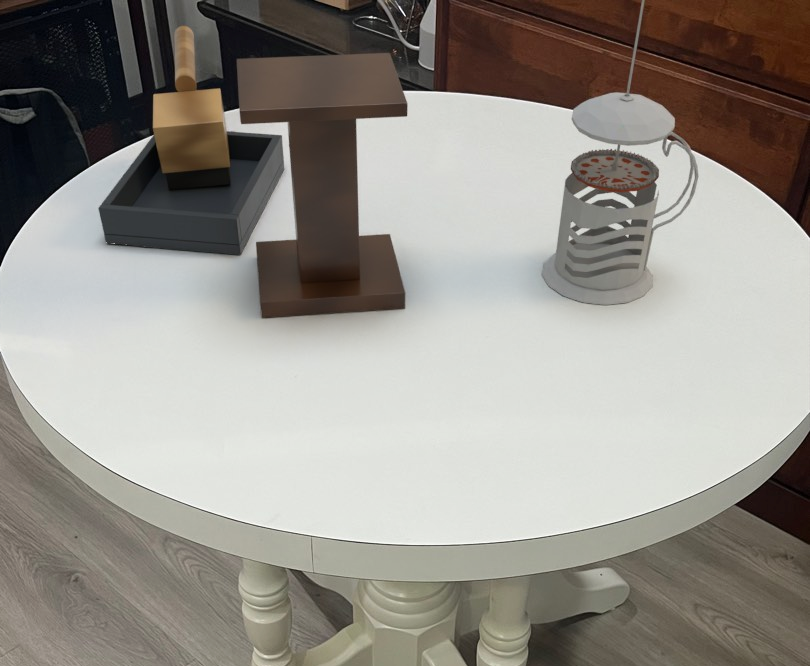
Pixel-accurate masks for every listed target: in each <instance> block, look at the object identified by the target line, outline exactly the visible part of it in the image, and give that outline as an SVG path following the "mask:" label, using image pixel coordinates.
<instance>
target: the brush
mask: <svg viewBox="0 0 810 666" xmlns="http://www.w3.org/2000/svg"><path fill="white" fill-rule="evenodd" d="M173 35H174V36H173V40H174V87H175V90H176V91H174V92H164V93H154V94H153V96H152V131H153V135H154V136H155V140H156V145H157V150H158V155H159V159H160V164H161V169H162V173H165V175H166V180H167V184H168V189H169V190H178V189H188V188H198V187H209V186H219V185H229V184H231V178H230V159H229V147H228V136H227V131H228V129H227V128H228V127H227V123H226V116H225V110H224V109H225V108H224V103H223V98H222V97H223V96H222V91H221V88H220V87H219V88H209V89H208V88H207V89H197V87H198V85H197V67H196V49H195V47H196V46H195V33H194V31H193V30H192V28H190V27H189V26H187V25H179V26H178V27H176V28H175V30H174V33H173Z"/></svg>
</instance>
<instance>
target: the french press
mask: <svg viewBox="0 0 810 666" xmlns="http://www.w3.org/2000/svg"><path fill="white" fill-rule="evenodd" d="M640 4H641V5H640V11H639V16H638V21H637V22H638V23H637V27H636V35H635V41H634V46H633V51H632V57H631V65H630V69H629V75H628V80H627V81H628V82H627V87H626V88H627V89H626V92H618V91H617V92H609V93H606V94H603V95H599V96H596V97H592V98H588V99H587V100H585V101H583V102H581V103H580V104H578V105H577V106H575V107H574V108H573V109H572V114H571V121H572V124H573V126H574V127H575V128H576V129H577V131H578V132H579V133H580V134H582V135H584V136H586V137H587V138H589V139H592V140H595V141H598V142H602V143H605V144H610V145H617V146H616V147H617V148H615V149H614V150H613V148H610V149H609V148H607V149H603V148H602V149H601V148H600V149H594V150H593V149H592V150H589V151H588V152H582V154H579V155H578V156H576V157H575V158H574V159H573V160H571V163H570V171H571V173H570V174H569V175H568V176H567V177H566V179H564V187H563V194H562V195H563V196H562V202H561V203H562V204H561V211H560V218H559V225H558V235H557V242H556V249H555V253H553V254H552V255H551V256H550V257H549V258H548V259H547V260H545V261H544V262H543V264H542V269H541V276H542V278H543V279H544V281H545V283H546V285H547V286H548V287H549V288H551V289H552V290H554V291H555V292H557V293H558V294H559V295H560V296H563V297H565V298H568V299H571V300H574V301H577V302H580V303H584V304H593V305H601V306H602V305H603V306H608V305H618V304H628V303H630V302H633V301H635V300H637V299H640V298H642V297H643V298H644V296H645V295H646V294H647V293H648V292H649V291H650V290H651V288H653V276H654V275H653V273H652V272H651V270H650V269H649V268H648V267H647V265H648V260H649V255H650V251H651V246H652V241H653V237H654V232H655V231H656V230H658V229H659V228H661V227H663V226H665V225H667V224H671V223H672V222H674V221H675V220H676V219H677V218H679V217H680V216H681V215H682V214H683V213H684V211H685V210H686V209H687V208H688V206H689V205H690V204H691V202H692V199H693V198H694V195H695V194H696V190H697V184H698V180H699V168H698V163H697V159H696V157H695V155H694V154H693V153H692V149H691V146H690V144H688V142H686V140H685V139H684V138H683V137H681V136H680V135H678V134H676V133H675V132H673V131H674V129H675V126H676V118H675V117H674V116H673V114H672V113H671V112H670V111H669V110H667V108H665V107H664V106H663V105H662V104H660V103H658V102H656V101H654V100H652V99H650V98H648V97H646V96H644V95H642V94H638V93H637V94H636V93H630V90H631V85H632V78H633V73H634V66H635V60H636V54H637V49H638V44H639V43H638V42H639V37H640V31H641V25H642V20H643V19H642V18H643V12H644V7H645V0H641V3H640ZM669 136H672V137H674V138H675V139H677V140H671V141H670V142H669V144H667V142H668V137H669ZM678 140H679V141H678ZM660 141H662V146H661V149H662V152H663V154H664V156H665V157H669V155H670V151H671V149H672V146H673V145H676V146H678V147H679V148H681V149H683V150H684V151H685V152H686V154H687V155H688V156H689V157H688V158H689V165H690V169H689V174H688V179H687V183H686V185H685V187H684V189H683V191H682V193H681V194H680V196H679V197H678V199H677V200H676V202H675V203H673V204H672V205H671V206H669V207H667V209H664V210H661V211H660V212H657V213H656V209H657V206H658V200H659V197H660V196H659V194H660V193H659V192H660V191H659V189H658V190H657V187H658V185H657V183H656V181H657V180H658V179H659V178H660V168H659V167H658V166H657V164H655V162H653V161H652V160H651V159H649V158H648V157H645V156H643V155H640V153H637V154H636V153H635V152H633V153H632V151H630V152H629V151H628V150H626V151H625V150H624V149H623V150H621V146H626V147H627V146H628V147H629V146H630V147H632V146H644V145H645V146H646V145H651V144H654V143H657V142H660ZM693 174H694V180H693V182H692V177H693ZM691 182H692V187H691ZM589 187H590V188H592V190H590V191H589V192H587V193H586V194H584V195H582V196H581V197H579V198H578V197H576V196H575V195H576V194H578V193H580V192H581V191H583V190H585V189H587V188H589ZM690 187H691V190H690V193H689V197H688V198H687V200H686V202H685V204H684V205H683V207H682V208H681V210H680V211H679V212H678V213H676V214H675V215H674V216H672V217H671V218H669V219H666V220H664V221H661V222H660V223H658V224H655V225H653V224H654V220H655V219H657V218H659V217H661V216H663V215H666V214H668V213H670V211H672V210H674V209H675V208H676V207H677V206H678V205H679V204H680V202H681V201H682V200H683V198H684V197H685V195H686V194H687V192H688V190H689V188H690ZM656 191H657V195H656ZM632 192H636V194H633V193H632ZM611 193H612V194H613V193H614V194H616V195H619V196H621V197H624V198H626V199H627V200H628V201H629V202H630V203H631V204H632V205H633V207H629V206H628V205H627V204H626V203H623V202H621V201H618V200H616V199H614V198H606V199H597V200H596V201H594V202H592V203H589V202H587V201H589V200H591V199H592V198H594V197H596V196H598V195H604V194H611ZM628 221H630V222H628ZM572 223H573V224H574V225H573V226H571V225H572ZM614 224H618V225H620V226H622V228H618V229H617V228H614V227H612V226H611V225H614ZM581 229H587V230H586V231H584V232H581V233H580V234H577V232H579V231H580V230H581ZM570 238H571V239H570ZM569 239H570V240H569Z"/></svg>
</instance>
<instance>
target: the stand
mask: <svg viewBox="0 0 810 666" xmlns="http://www.w3.org/2000/svg"><path fill="white" fill-rule="evenodd" d="M236 71H237V72H236V73H237V87H238V88H237V89H238V90H237V91H238V106H239V107H238V108H239V109H238V110H239V118H240V124H241V125H255V124H256V125H257V124H275V123H279V124H280V123H287V135H288V147H289V148H288V149H289V161H290V174H291V175H290V177H291V190H292V203H293V216H294V229H295V231H294V232H295V239H284V240H283V239H282V240H281V239H280V240H265V241H256V242H255V248H256V264H257V278H258V279H257V280H258V291H259V306H260V316H261V318H262V319H265V318H266V319H267V318H279V317H280V318H281V317H295V316H297V317H298V316H311V315H326V314H341V313H355V312H369V311H371V312H372V311H386V310H399V309H400V310H401V309H406V290H405V287H404V282H403V278H402V275H401V271H400V267H399V263H398V260H397V256H396V251H395V248H394V245H393V244H394V243H393V241H392V237H391V233H383V234H368V235H367V234H365V235H360V219H359V215H360V214H359V180H358V179H359V178H358V177H359V176H358V175H359V174H358V173H359V171H358V137H357V120H361V119H362V120H363V119H383V118H406V117H408V108H409V107H408V101H407V97H406V95H405V92H404V90H403V86H402V84H401V81H400V78H399V76H398V75H399V74H398V72H397V69H396V67H395V63H394V61H393V58H392V55H391V53H390V52H376V53H373V52H372V53H351V54H350V53H349V54H327V55H326V54H324V55H306V56H305V55H301V56H300V55H299V56H298V55H297V56H276V57H275V56H273V57H253V58H251V57H250V58H236Z"/></svg>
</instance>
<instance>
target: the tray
mask: <svg viewBox="0 0 810 666" xmlns="http://www.w3.org/2000/svg"><path fill="white" fill-rule="evenodd" d="M227 136H228V147H229V159H230V178H231V184H229V185H219V186H209V187H198V188H188V189H178V190H169V189H168V184H167V180H166V175H165V173H162V169H161V164H160V159H159V155H158V150H157V145H156V140H155V136H154V134H153V136H151V138H150V139H149V140H148V142H146V145H145V146H144V147H143V148H142V150H141V151H140V152H139V153H138V155H137V156H136V157H135V158H134V160H133V161H132V163H131V164H130V165H129V167H128V169H127V170H126V171H125V172H124V174H123V175H122V176H121V178H120V179H119V180H118V182H116V184H115V186H113V188H112V189H111V191H110V192H109V193H108V195H107V196H106V197H105V199H104V200H103V201H102V203H101V204H100V205H99V206H98V209H97V210H98V213H99V217H100V222H101V227H102V232H103V235H104V240H105V243H106V242H107V243H115V244H124V245H123V246H127V245H133V246H132V247H139V246H145V247H144V248H151V247H155V248H154V249H163V248H164V250H177V251H189V252H199V253H200V252H201V253H210V254H211V253H213V254H224V255H237V256H240V255H242V253H243V251H244V250H245V247H246V245H247V243H248V241H249V239H250V237H251V235H252V233H253V231H254V229H255V227H256V225H257V223H258V221H259V219H260V218H261V215H262V214H263V212H264V209H265V207H266V206H267V204H268V202H269V200H270V199H271V196H272V195H273V192H274V191H275V188H276V186H277V184H278V182H279V180H280V178H281V177H282V174H283V173H284V170H285V160H284V159H285V158H284V145H283V135H282V134H271V133H257V132H256V133H255V132H243V131H235V132H231V131H229V130H227ZM125 244H127V245H125ZM135 245H136V246H135Z"/></svg>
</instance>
